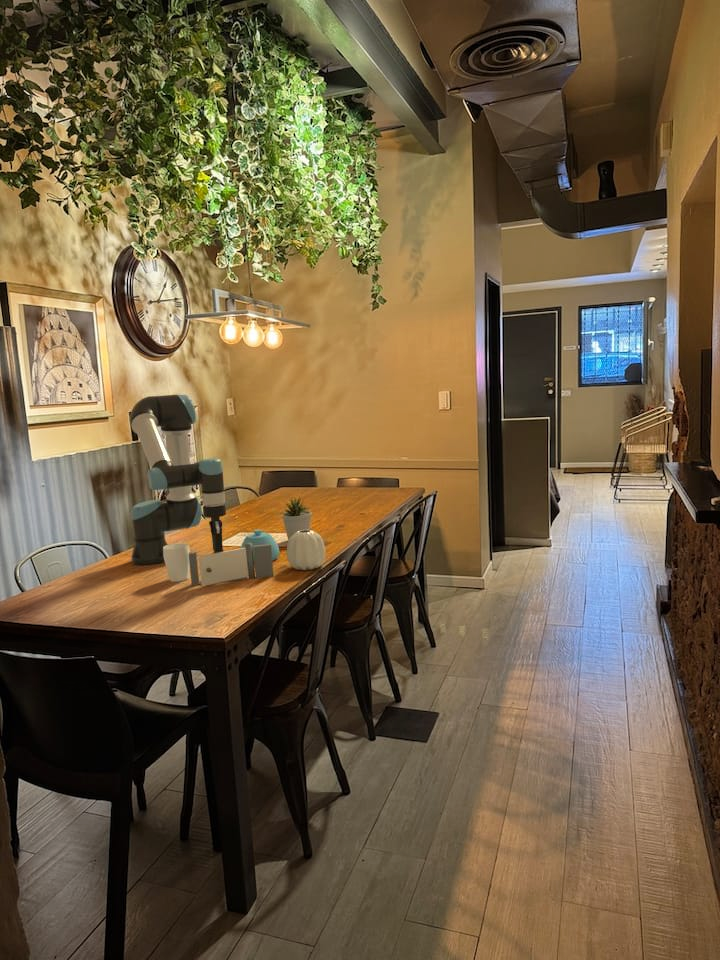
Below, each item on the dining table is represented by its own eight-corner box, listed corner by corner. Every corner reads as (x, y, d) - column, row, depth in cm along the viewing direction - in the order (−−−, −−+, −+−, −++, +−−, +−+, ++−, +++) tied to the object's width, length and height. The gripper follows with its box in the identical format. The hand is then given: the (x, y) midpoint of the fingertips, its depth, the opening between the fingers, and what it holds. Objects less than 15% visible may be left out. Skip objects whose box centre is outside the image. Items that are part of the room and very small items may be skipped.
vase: (280, 568, 232) (277, 532, 230) (312, 560, 241) (309, 525, 239) (302, 575, 222) (299, 537, 220) (334, 566, 230) (331, 529, 228)
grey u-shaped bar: (192, 583, 220) (188, 549, 219) (273, 574, 225) (270, 540, 224) (191, 585, 217) (188, 551, 216) (273, 576, 223) (270, 542, 221)
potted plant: (275, 541, 274) (272, 495, 272) (301, 535, 283) (298, 490, 281) (293, 545, 265) (289, 498, 262) (319, 539, 274) (316, 492, 271)
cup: (172, 584, 220) (168, 550, 219) (162, 579, 227) (158, 546, 226) (196, 578, 226) (193, 545, 224) (185, 573, 233) (182, 541, 231)
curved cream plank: (246, 575, 222) (244, 547, 221) (249, 577, 220) (246, 548, 219) (201, 585, 214) (198, 556, 213) (203, 586, 212) (200, 557, 211)
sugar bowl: (287, 556, 249) (285, 527, 247) (261, 566, 236) (258, 536, 235) (259, 553, 257) (256, 524, 255) (232, 562, 245) (229, 532, 243)
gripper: (200, 502, 222) (206, 568, 226) (204, 508, 211) (210, 578, 214) (222, 500, 225) (228, 565, 228) (227, 506, 213) (233, 575, 216)
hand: (219, 571), depth 221 cm, fingers closed
